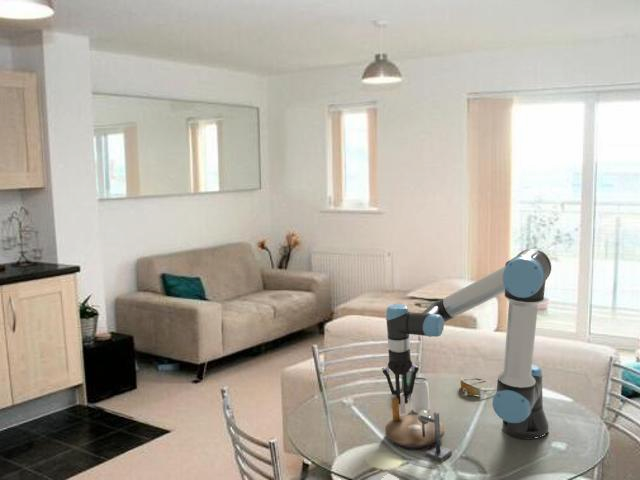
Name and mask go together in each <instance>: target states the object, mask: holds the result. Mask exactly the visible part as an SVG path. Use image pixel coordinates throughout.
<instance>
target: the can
mask: <svg viewBox="0 0 640 480" xmlns="http://www.w3.org/2000/svg"><path fill="white" fill-rule="evenodd" d="M410 395H411V396H410V397H411V410H412V412H413V413H414V414H416V415H418V413H419V412H420V411H421V410H425V411H427V412H428V413H429V411H430V396H429V395H430V393H429V383H428V379H426V378H425V377H416V378H415V382H414V387H413V392H412V393H411V394H410Z"/></svg>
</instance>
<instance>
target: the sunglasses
mask: <svg viewBox="0 0 640 480" xmlns="http://www.w3.org/2000/svg"><path fill="white" fill-rule="evenodd" d="M468 380H469V381H480V380H483V379H482V378H479V377H470V378H469V377H468V378H460V388H461V391H462V393H466V395H467V394H471V395H479V396H482V392H483V393H487V392H497V388H494V389H487V388H484V389H483V388H481V387H477V386H475V385H473V384H472V383H469V382H467V381H468Z"/></svg>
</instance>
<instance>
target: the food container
mask: <svg viewBox="0 0 640 480" xmlns="http://www.w3.org/2000/svg"><path fill="white" fill-rule="evenodd" d="M412 364H414V363H413V362H412ZM414 365H416V364H414ZM411 372H412V370H411V368H410V370H409V371H408V373H407V389H408V387H409V382H410V377H411ZM418 372H419V371H418ZM418 372H417V373H416V375H417V374H418ZM400 377H401V390H402V391H401V393H403V380H402V374H401V375H400ZM415 378H417V376H416V377H415ZM410 395H411V393H410V394H408V396H410Z"/></svg>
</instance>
